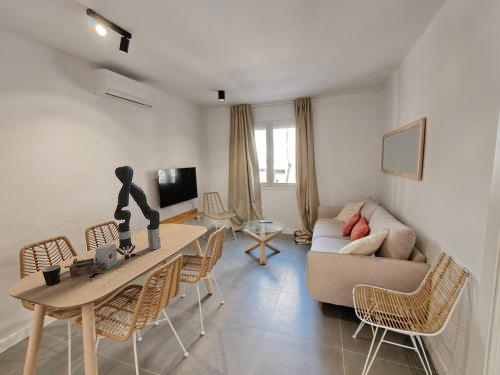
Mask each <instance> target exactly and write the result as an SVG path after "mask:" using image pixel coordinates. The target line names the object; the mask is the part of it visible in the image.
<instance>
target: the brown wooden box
mask: <svg viewBox="0 0 500 375" xmlns="http://www.w3.org/2000/svg"><path fill="white" fill-rule="evenodd" d="M93 259H94V257H92V258H86V259H82V260H78V258H76V257H75V258H73V260H72V264H70V265H71V266H70V265H69V266H70V267H69V269H68V270H69V276H70V279H74V278H78V277H82V276H83V277H84V276H88V275H92V274H97V273H103V272H106V269H105V264H104V263H103V264H98V265H94V263H90V264H85V265H79V266H74V265H75V264H80V263H86V262H91V261H93Z"/></svg>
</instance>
